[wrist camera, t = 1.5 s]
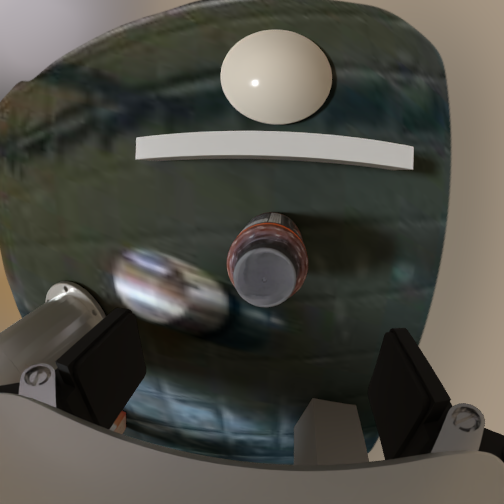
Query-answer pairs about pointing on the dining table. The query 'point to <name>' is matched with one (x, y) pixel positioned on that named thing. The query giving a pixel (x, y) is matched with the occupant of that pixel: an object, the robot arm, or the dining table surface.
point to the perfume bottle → (329, 435)
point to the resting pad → (276, 77)
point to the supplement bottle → (268, 260)
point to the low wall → (275, 148)
